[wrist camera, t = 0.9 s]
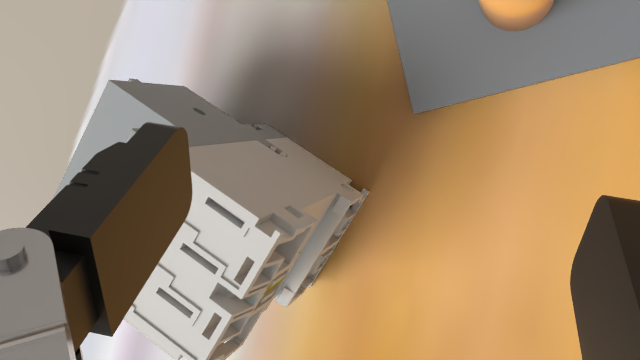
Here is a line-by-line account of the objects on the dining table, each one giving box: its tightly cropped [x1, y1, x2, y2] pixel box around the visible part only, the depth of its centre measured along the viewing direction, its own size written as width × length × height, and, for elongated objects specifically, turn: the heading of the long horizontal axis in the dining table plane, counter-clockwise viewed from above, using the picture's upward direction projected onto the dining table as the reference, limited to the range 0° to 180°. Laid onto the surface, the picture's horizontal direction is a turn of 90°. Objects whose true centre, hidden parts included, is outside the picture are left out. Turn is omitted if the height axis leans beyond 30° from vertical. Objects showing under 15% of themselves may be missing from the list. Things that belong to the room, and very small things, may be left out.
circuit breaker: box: [54, 79, 369, 360], centre depth 34 cm, size 8×14×15 cm, turn 59°
